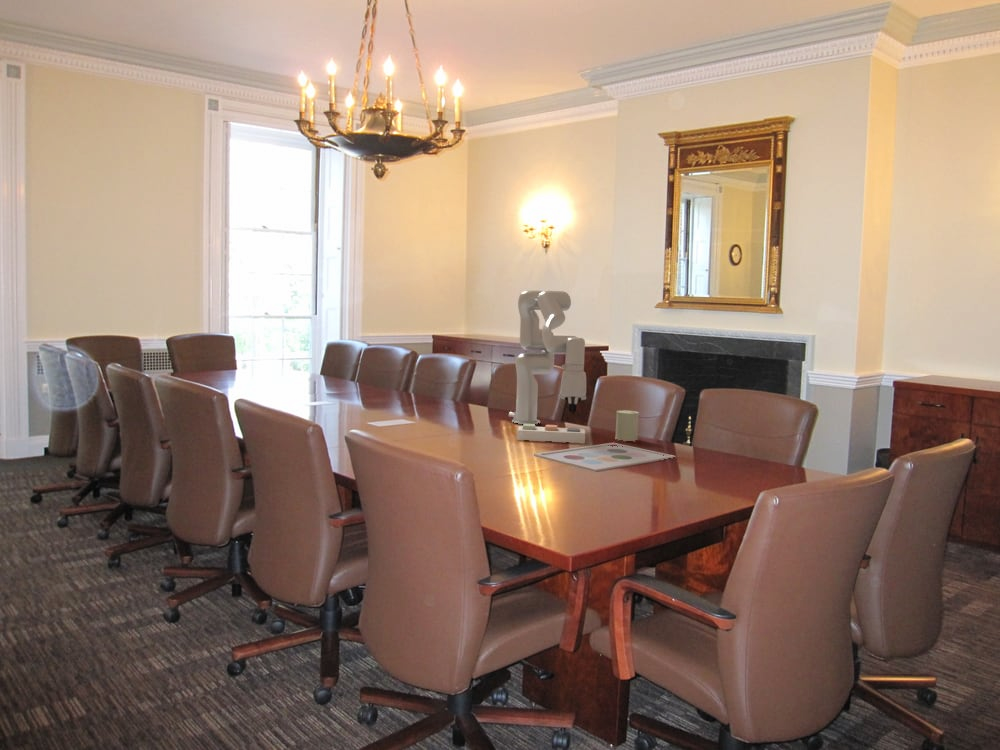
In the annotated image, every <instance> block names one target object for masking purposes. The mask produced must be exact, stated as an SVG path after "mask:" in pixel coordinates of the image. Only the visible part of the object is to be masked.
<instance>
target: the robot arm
mask: <svg viewBox="0 0 1000 750" xmlns="http://www.w3.org/2000/svg"><path fill="white" fill-rule="evenodd" d="M517 300H518V301H517V308H518V313H519V318H520V321H519V323H520V324H519V326H520V327H519V345H520V347H521V349H523V350H527V351H541V352H524V353H520V354H519V355H518V356H516V358H515V371H516V399H515V402H516V403H515V411H514V412H512V411H510V412H509V413H508V417H511V418H512V417H513V418H512V420H511V422H512V423H513V422H514V423H513V424H515V423H518V424H517V425H522V424H536V425H539V424H540V423H541V421H540V419H537V417H538V397H539V396H538V395H539V391H538V390H539V383H538V381H537V379H536V377H535V375H548V374H551V373H552V372H553V371H554V368H555V367H554V366H555V355H565V361H564V364H562V365H561V369H564V371H562V374H561V380H560V381H561V382H560V383H561V384H560V395H559V399H561V400H565V401H566V402H567V403H568V412H570V415H575V413H576V412H577V404H578V403H579V402H581V401H586V400H587V395H586V394H587V373H586V372H585V371H584V370H585V369H584V368H585V349H586V341H585V338H582V337H577V336H575V335H554V332H553V330H555V329H556V328H559V327H561V326H562V325H563V324H564V323H565V320H566V315H565V313H564V312H565V311H566V312H567V311H568V310H569V309H570V307H571V305H572V300H571V296H570V295H569V293H568V292H566V291H564V290H563V291H562V290H561V291H560V290H525V291H523V292H521V293H520V294H519V296H518V299H517ZM536 311H540V312H541V314H542V317H543V319H544V324H543V327H542V328H540V317H539V315H538V313H537V312H536ZM572 398H574V401H572ZM538 423H539V424H538Z"/></svg>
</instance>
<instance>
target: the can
mask: <svg viewBox="0 0 1000 750" xmlns="http://www.w3.org/2000/svg"><path fill="white" fill-rule="evenodd" d="M639 415H640V412H639V411H635V410H626V409H623V410H622V409H621V410H616V421H615V422H616V424H615V437H614V439H615V440H616V439H618V440H617V441H619V440H623V441H622V442H626V441H633V442H636V441H635V440H637V441H639V440H638V435H639V434H638V433H639V431H638V430H639Z"/></svg>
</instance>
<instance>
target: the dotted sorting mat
mask: <svg viewBox="0 0 1000 750" xmlns="http://www.w3.org/2000/svg"><path fill="white" fill-rule="evenodd" d="M608 445H609V446H608ZM610 445H617V446H618V447H617V446H613V447H612V446H610ZM622 446H623V447H622ZM663 455H664V456H663ZM533 457H538V458H541V459H545V460H548V461H553V462H557V463H561V464H565V465H567V466H568V465H569V466H573V467H576V468H580V469H584V470H587V471H588V470H589V471H591V472H601V471H605V470H611V469H618V468H624V467H629V466H635V465H636V466H637V465H641V464H648V463H654V462H658V461H659V460H660V461H664V459H666V460H669V459H668V458H671V459H674V458H673V457H675V458H676V455H673V454H667V453H665V452H659V451H655V450H649V449H644V448H641V447H636V446H631V445H627V444H621V443H617V442H608V443H602V444H601V443H600V444H594V445H587V446H581V447H580V446H579V447H573V448H565V449H558V450H552V451H545V452H538V453H533Z"/></svg>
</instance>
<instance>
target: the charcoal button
mask: <svg viewBox="0 0 1000 750" xmlns="http://www.w3.org/2000/svg"><path fill="white" fill-rule="evenodd" d="M567 428H568V431H569V432H580V429H581V428H575V427H574V428H572V427H567Z"/></svg>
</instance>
